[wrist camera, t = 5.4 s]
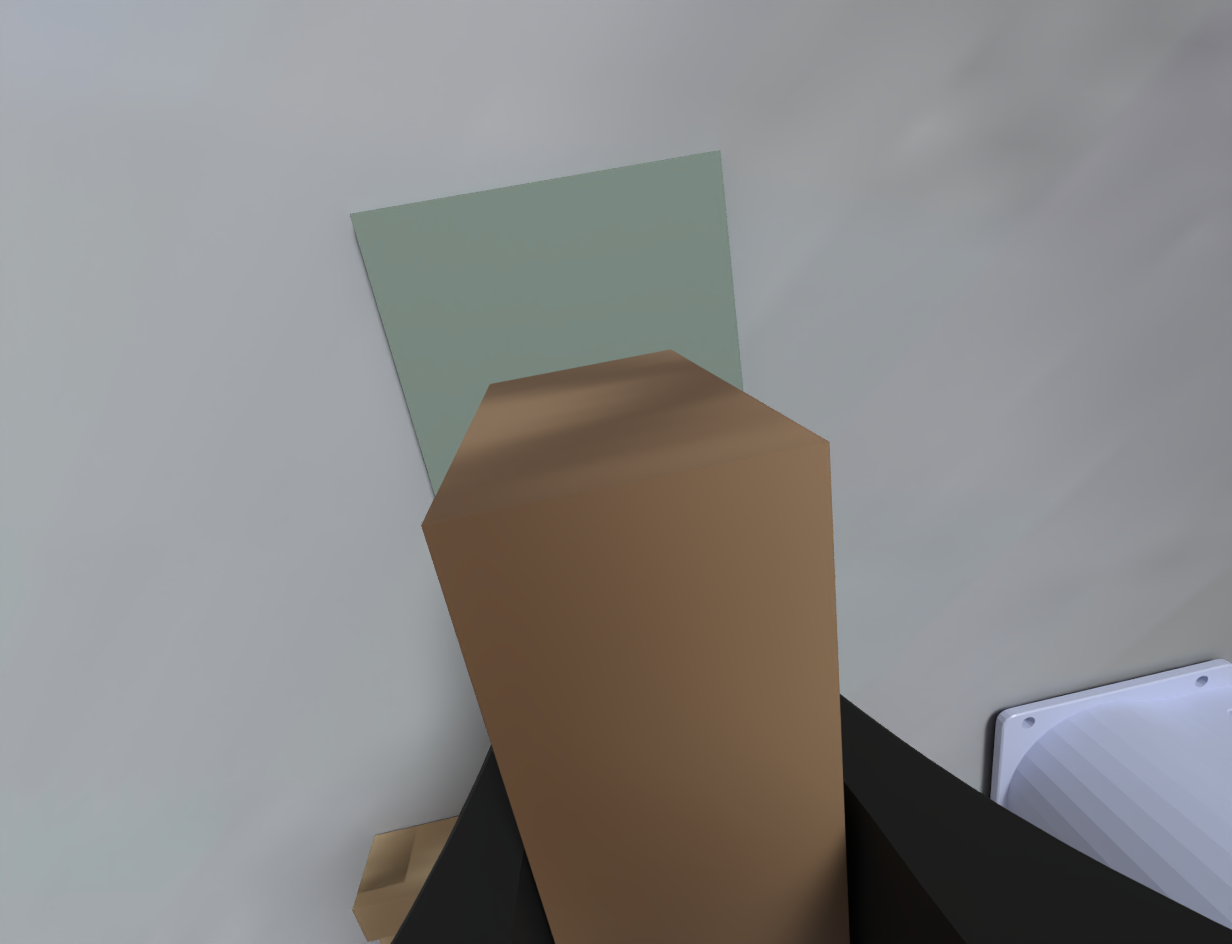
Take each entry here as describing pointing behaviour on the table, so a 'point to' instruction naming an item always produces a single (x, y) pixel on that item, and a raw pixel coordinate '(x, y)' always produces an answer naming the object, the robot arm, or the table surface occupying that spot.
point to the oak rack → (397, 876)
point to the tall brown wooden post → (654, 650)
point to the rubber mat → (550, 284)
